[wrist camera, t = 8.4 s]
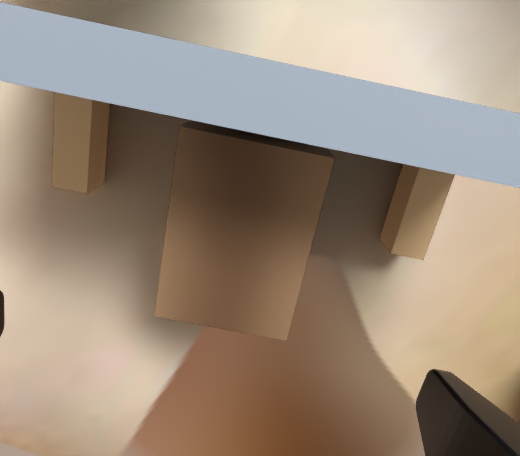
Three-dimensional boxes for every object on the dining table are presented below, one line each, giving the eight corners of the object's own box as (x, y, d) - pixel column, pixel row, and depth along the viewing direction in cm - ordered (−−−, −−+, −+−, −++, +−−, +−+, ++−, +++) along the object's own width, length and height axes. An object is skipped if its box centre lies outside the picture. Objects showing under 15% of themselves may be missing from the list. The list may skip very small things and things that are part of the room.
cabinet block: (315, 133, 19) (334, 158, 13) (280, 277, 21) (284, 349, 16) (206, 111, 19) (179, 126, 13) (184, 259, 21) (152, 325, 16)
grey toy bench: (472, 111, 18) (685, 149, 9) (424, 246, 21) (553, 389, 11) (61, 23, 18) (-182, -38, 8) (56, 173, 20) (-139, 262, 10)
